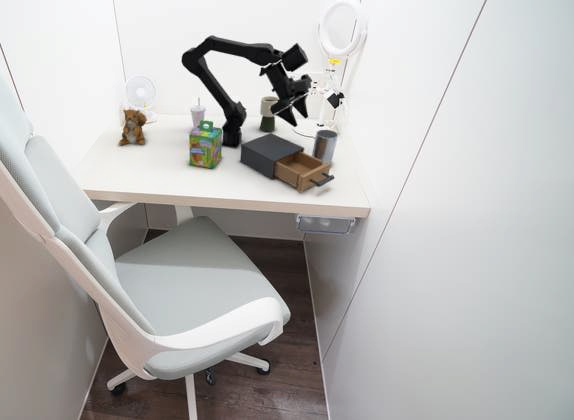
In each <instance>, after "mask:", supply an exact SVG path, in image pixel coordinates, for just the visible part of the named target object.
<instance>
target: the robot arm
mask: <svg viewBox="0 0 574 420" xmlns="http://www.w3.org/2000/svg"><path fill="white" fill-rule="evenodd" d="M210 51H211V52H212V51H213V52H217V53H222V54H226V55H230V56H234V57H240V58H244V59H246V60H248V62H250V63H253V64H255V65H257V66H259V67H260V71H259V74H258V77H263V76H265V75H266V78H267V79H268V81H269V83H270V85H271V86H272V89H271V92H272V93H275V94H276V97H277V98H279V100H277V101H278V102H277V103H275V104H273V105H272V106H271V107H270V111H271V113H272V115H273V114H275V113H277V112H278V113H277V114H275V115H276V116H275V117H278V118H280V119H282V120H284V121H285V122H286V123H288V124H289V125H291V126H292V127H294V128H296V127H298V125H299V124H298V122H297V120H296V117H295V114H294V112H293V108H294V109H295V110H296V111H297V112H298V113H299V114H300V115H301V117H303V118H304V119H305V120H306V119H308V118H309V114H308V108H307V98H308V96H309V93H310V90H309V89H312V82H313V79H312V77H311V76H309V74H308V73H306V74H303V75H301V76H300V78H299V79H296V80H294V78H293V77H289V76H288V74H287V73H290V72H291V73H294V72H295V71H298V70H299V69H300V68H301V67H304V65H305V64H308V63H309V58H308V55H307V53H306V51H305V50H304V49H303V48H302V47H301V46H300V44H299V43H298V42H296V43H294V44H293V45H292V46H291V47H290V48H289V49H286V51H282V50H279V49H277V48H274V46H273V45H272V43H271V44H270V43H268V42H257V43H256V42H255V43H247V42H242V41H237V40H233V39H228V38H224V37H218V36H215V35H213V34H212V35H209V36H207V37H206V38H205V39H204V40H203V41H202V42H201V43H199V44H198V45H197V46H195V47H191V48H189V49H187V50H185V51H184V52H183V53H182V54H181V60H180V61H181V62H180V63H181V64H182V66H183V67H184V68H185V69H186V70H187V71H188V72H189V73H190V74H191V75H193V76H195V77H197V78H198V79H199V80H200V82H201V84H203V86H204V87H205V88H206V89H207V91H208V92H209V93H210V95H211V96H212V97H213V99H214V100H215V101H216V102H217V104H218V106H220V108H221V109H222V112H223V114H224V115H223V116H224V119H225V122H224V123H223V124H222V127H221V129H222V146H223V147H229V148H235V149H237V148H238V147H239V146H240V144H242V142H243V140H242V139H243V132H242V127H243V125H244V123H245V121H246V119H247V118H248V117H247V116H248V113H247V108H246V107H244V105H243V103H242V102H241V101H240V100H238V102H237V101H234V100H233V99H232V97H230V95H229V94H228V93H227V92H226V90H225V89H224V87H223V86H222V85H221V83H220V82H219V81H218V80H217V78H216V77H215V76H214V74H213V73H212V71H211V70H210V68H209V66H208V63H207V60H206V58H205V55H207V54H208V53H209V52H210Z"/></svg>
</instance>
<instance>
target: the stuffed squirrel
mask: <svg viewBox="0 0 574 420" xmlns="http://www.w3.org/2000/svg"><path fill="white" fill-rule="evenodd" d="M122 111H123V114H124V120H123V122H122V123H123V124H124V126H123V127H122V131H123V132H122V133H121V138H122V139H120V140H119V142H118V145H119V146H125V145H127V144H138V145H141V146H143V145H145V143H146V137H145V135H144V132H143V126H145V124H146V123H147V122H148V118H147V117H146V115H145V114H144V113H143V112H141V110H140V109H138V110H135V109H125V108H124V109H122Z"/></svg>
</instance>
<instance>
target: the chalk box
mask: <svg viewBox="0 0 574 420" xmlns="http://www.w3.org/2000/svg"><path fill="white" fill-rule="evenodd" d="M188 137H189V138H188V144H189V145H188V147H189V165H191V166H197V167H202V168H207V169H211V170H213V169H214V168H215V167H216V166H217V165H218V164H219V161H220V160H221V158H222V150H223V149H222V146H223V145H222V142H223V129H222V127H215V126H214V122H213V120H204V121H203V120H201V121H200V125H198V126H197V127H196V128H195V129H194V128H193V130H192V131H191V133H190V134H188Z"/></svg>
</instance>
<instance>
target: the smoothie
mask: <svg viewBox="0 0 574 420" xmlns="http://www.w3.org/2000/svg"><path fill="white" fill-rule="evenodd" d="M197 101H198V103H197V104H198V105H193V106H191V107H190V108H189V111H190V113H191V118H192V119H191V120H192V125H193V130H194V129H195V128H196V127H197V126H198V125H200V121H201V120H203V121H205V116H206V115H205V114H206V111H207V109H206V106H204V105H201V99H200V97H198V99H197Z"/></svg>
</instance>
